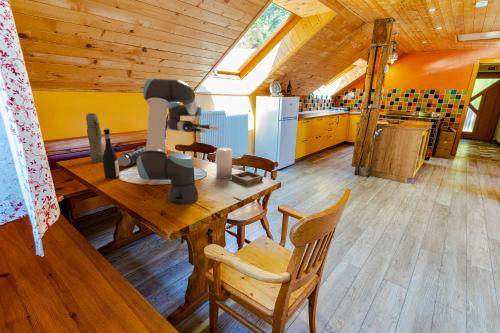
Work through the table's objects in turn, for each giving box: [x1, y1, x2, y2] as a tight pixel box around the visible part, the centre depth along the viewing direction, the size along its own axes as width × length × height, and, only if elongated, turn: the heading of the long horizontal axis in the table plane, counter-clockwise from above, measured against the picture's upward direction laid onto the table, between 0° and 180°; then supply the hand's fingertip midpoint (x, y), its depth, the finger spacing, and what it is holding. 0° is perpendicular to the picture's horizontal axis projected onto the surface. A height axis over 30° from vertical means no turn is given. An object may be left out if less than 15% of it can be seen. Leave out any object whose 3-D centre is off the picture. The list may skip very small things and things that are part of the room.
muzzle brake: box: [118, 145, 146, 167], centre depth 188 cm, size 10×28×10 cm, turn 174°
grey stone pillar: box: [85, 112, 104, 164], centre depth 185 cm, size 9×12×35 cm
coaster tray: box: [231, 170, 264, 187], centre depth 161 cm, size 14×14×4 cm
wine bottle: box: [102, 128, 120, 180], centre depth 153 cm, size 8×8×30 cm
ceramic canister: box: [216, 147, 233, 179], centre depth 166 cm, size 10×10×18 cm
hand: (211, 129), depth 164 cm, fingers open, 13 cm apart
